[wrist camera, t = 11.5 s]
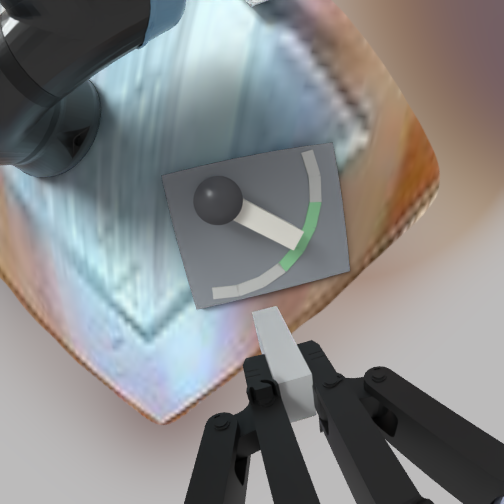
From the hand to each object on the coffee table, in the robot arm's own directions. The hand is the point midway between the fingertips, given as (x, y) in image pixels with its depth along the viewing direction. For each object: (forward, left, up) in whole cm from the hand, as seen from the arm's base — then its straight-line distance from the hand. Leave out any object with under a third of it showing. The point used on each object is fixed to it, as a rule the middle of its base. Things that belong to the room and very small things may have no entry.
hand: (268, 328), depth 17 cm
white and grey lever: (+2, +4, -21) cm, 21 cm away
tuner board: (+4, +2, -22) cm, 23 cm away
